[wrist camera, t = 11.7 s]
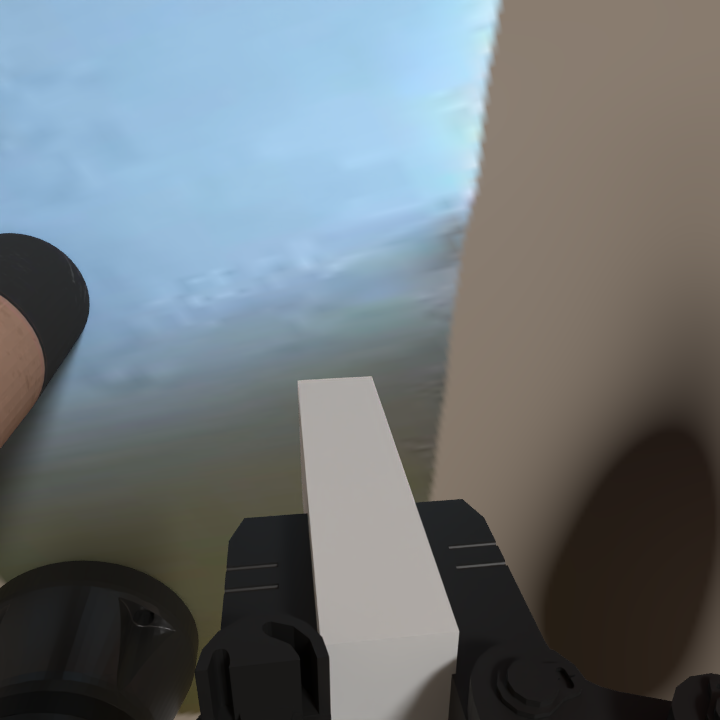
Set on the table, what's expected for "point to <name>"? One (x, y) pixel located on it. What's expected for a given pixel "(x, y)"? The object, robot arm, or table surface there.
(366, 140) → the table surface
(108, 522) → the table surface
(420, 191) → the table surface
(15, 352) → the travel mug
